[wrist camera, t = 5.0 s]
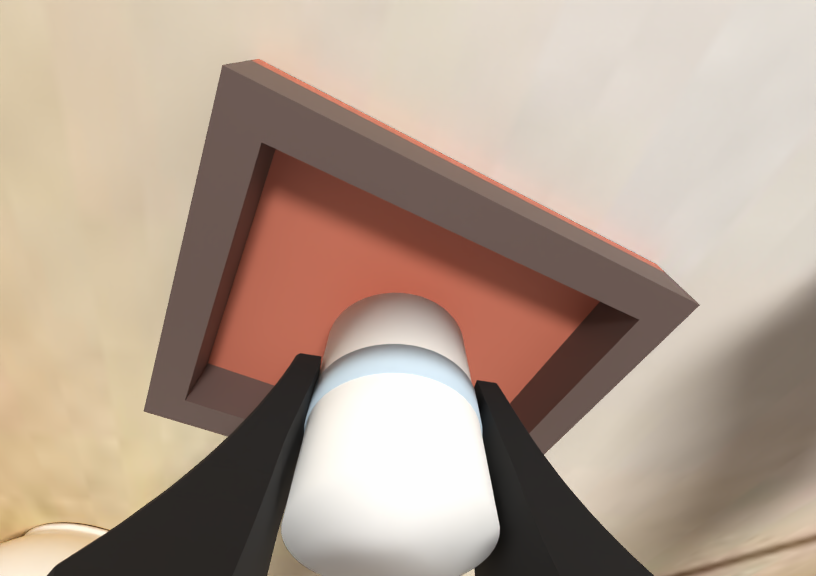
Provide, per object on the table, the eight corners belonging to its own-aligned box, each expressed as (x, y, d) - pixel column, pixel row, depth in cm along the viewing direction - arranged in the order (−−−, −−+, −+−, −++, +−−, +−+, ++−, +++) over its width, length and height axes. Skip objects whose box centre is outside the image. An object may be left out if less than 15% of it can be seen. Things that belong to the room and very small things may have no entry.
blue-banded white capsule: (483, 306, 13) (536, 486, 8) (444, 408, 15) (465, 598, 10) (335, 278, 12) (287, 452, 7) (318, 388, 15) (272, 579, 9)
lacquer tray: (656, 264, 14) (700, 305, 12) (475, 461, 20) (483, 512, 18) (258, 58, 11) (222, 64, 9) (177, 363, 17) (143, 411, 15)
